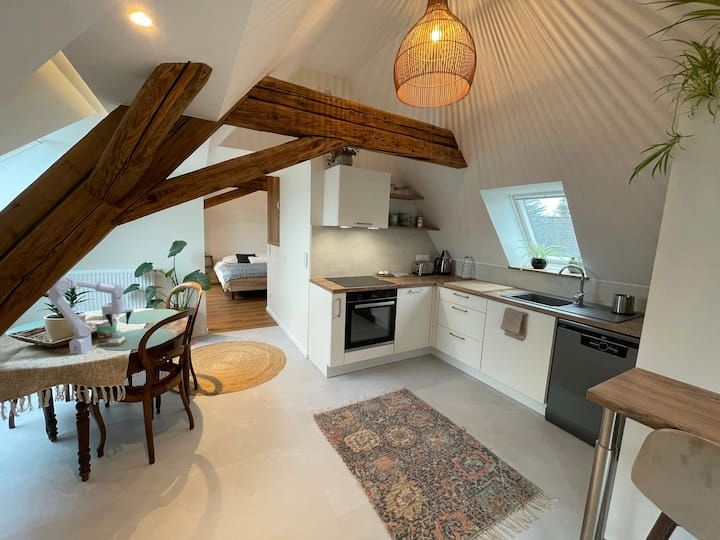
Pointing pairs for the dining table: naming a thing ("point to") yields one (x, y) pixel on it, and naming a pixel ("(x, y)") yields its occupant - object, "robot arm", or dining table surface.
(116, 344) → the base slab
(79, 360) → the dining table surface
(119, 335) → the cylinder
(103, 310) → the light bulb box
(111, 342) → the top block
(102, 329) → the food container
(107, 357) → the dining table surface
